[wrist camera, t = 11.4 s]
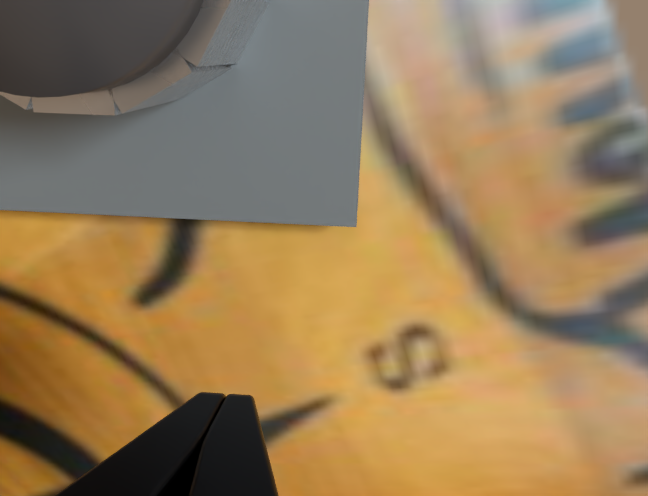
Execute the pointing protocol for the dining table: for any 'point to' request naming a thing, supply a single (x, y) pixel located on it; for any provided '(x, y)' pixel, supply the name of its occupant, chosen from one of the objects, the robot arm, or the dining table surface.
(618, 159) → the dining table surface
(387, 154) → the dining table surface
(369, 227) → the dining table surface
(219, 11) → the faceted ring
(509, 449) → the dining table surface
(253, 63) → the mount plate
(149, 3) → the knob
